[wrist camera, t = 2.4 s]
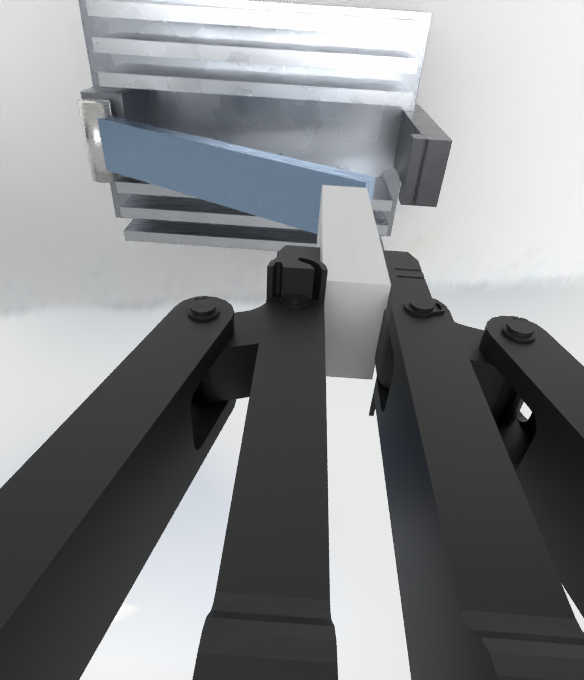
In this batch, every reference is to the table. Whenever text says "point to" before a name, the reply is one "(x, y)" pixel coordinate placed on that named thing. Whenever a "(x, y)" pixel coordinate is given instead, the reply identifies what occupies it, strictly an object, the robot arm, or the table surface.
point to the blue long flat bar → (210, 168)
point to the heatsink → (267, 102)
